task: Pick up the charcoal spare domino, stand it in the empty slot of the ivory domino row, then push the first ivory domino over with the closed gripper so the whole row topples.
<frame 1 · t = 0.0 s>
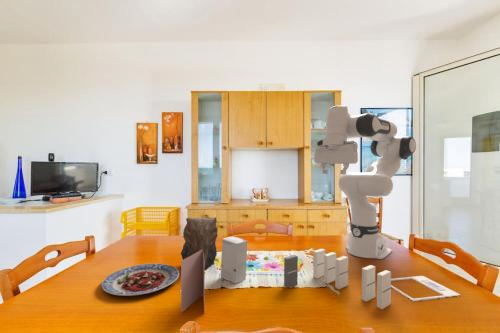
hand: (333, 174, 112), 39 cm above the table, tool pointing down, fingers open, 8 cm apart
skincare box: (233, 278, 98), on the table
domino 3: (341, 286, 92), on the table
photo frame: (418, 289, 91), on the table
domino 5: (368, 298, 84), on the table
greeting card: (200, 305, 79), on the table
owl: (199, 266, 109), on the table
domino 1: (319, 276, 100), on the table
domino 2: (329, 281, 96), on the table
spare domino: (290, 284, 93), on the table
ceramic plate: (142, 283, 94), on the table
domino 6: (383, 305, 80), on the table
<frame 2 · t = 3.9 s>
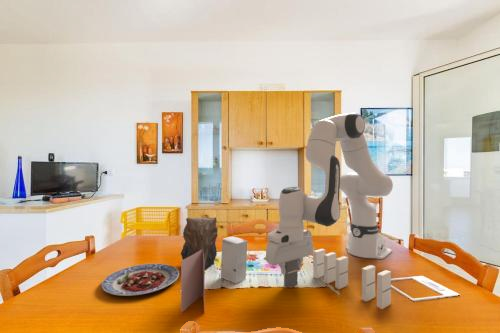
hand: (290, 271, 93), 5 cm above the table, tool pointing down, fingers closed on spare domino, 5 cm apart
spare domino: (290, 284, 93), on the table, touching gripper
everything else where it was.
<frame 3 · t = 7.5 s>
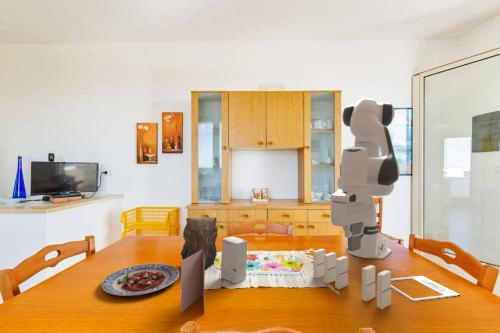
hand: (354, 235, 88), 19 cm above the table, tool pointing down, fingers closed on spare domino, 5 cm apart
spare domino: (354, 249, 88), point 14 cm above the table, touching gripper
everything else where it was.
when the fingers open (6 cm above the table, at t = 11.2 s): spare domino stays where it is, on the table.
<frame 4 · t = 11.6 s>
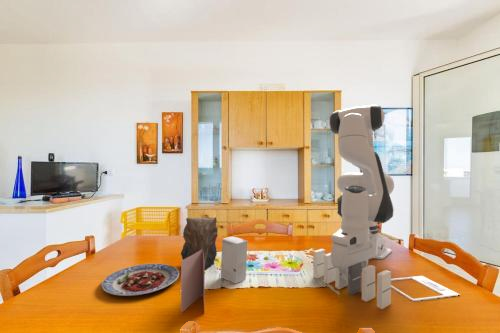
hand: (354, 275, 88), 6 cm above the table, tool pointing down, fingers open, 8 cm apart
spare domino: (354, 292, 88), on the table
everything else where it was.
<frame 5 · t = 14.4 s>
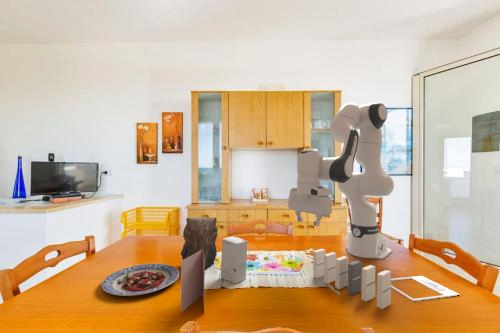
hand: (308, 223, 105), 19 cm above the table, tool pointing down, fingers open, 7 cm apart
nothing on the table moved.
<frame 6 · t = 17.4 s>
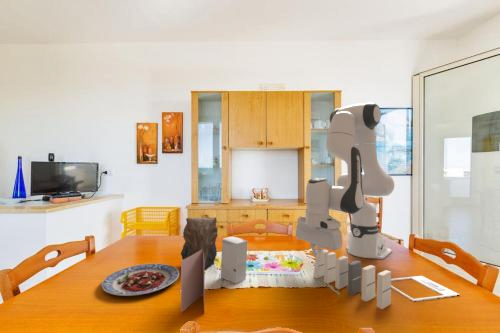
hand: (317, 255, 101), 8 cm above the table, tool pointing down, fingers closed
domino 1: (319, 275, 100), on the table, tilted 9°
everything else where it was.
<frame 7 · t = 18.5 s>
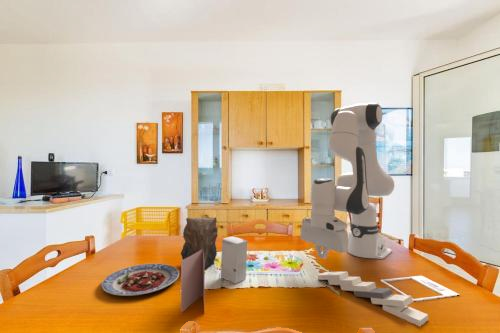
hand: (322, 257, 99), 8 cm above the table, tool pointing down, fingers closed
domino 3: (345, 285, 91), point 1 cm above the table, tilted 71°, touching domino 2, spare domino
domino 5: (375, 298, 82), point 1 cm above the table, tilted 71°, touching domino 6, spare domino
domino 1: (322, 275, 99), point 1 cm above the table, tilted 70°, touching domino 2
domino 2: (332, 280, 95), point 1 cm above the table, tilted 71°, touching domino 1, domino 3
spare domino: (358, 291, 87), point 1 cm above the table, tilted 71°, touching domino 3, domino 5
domino 6: (387, 304, 79), point 1 cm above the table, tilted 89°, touching domino 5
everything else where it was.
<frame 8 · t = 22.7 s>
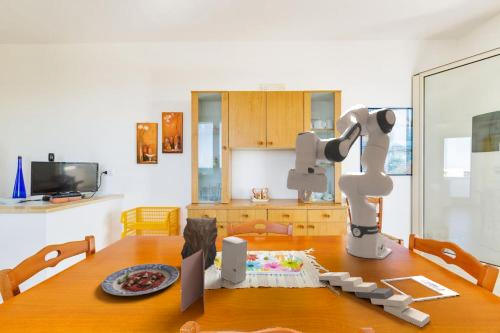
hand: (305, 201, 111), 27 cm above the table, tool pointing down, fingers closed
at the end: domino 6 tilted 89°; spare domino inside the target area (1.0 cm from its centre), point 0.7 cm above the table; spare domino tilted 71° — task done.
